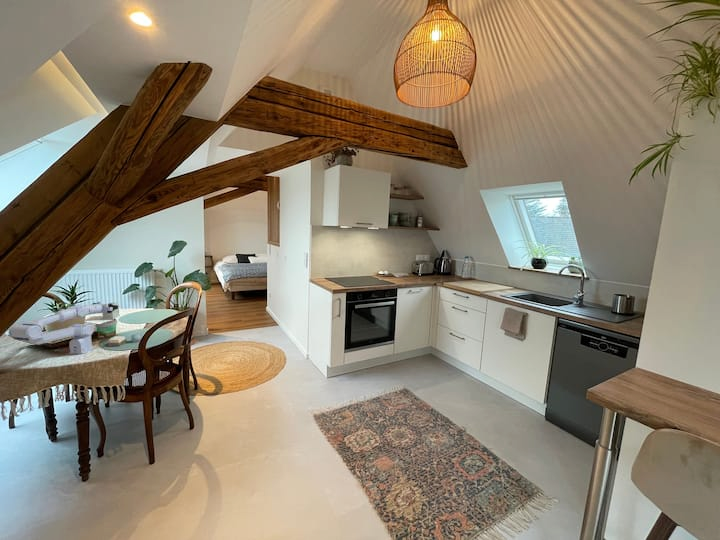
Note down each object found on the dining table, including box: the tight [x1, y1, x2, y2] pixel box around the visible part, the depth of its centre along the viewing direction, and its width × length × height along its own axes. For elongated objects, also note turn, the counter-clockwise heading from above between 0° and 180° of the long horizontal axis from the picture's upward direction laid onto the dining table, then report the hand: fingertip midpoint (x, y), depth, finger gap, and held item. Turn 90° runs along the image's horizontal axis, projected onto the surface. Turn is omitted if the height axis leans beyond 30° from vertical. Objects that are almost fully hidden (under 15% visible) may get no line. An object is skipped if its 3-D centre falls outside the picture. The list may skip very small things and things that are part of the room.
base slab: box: [107, 338, 127, 347], centre depth 182 cm, size 6×6×2 cm
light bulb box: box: [101, 302, 121, 321], centre depth 226 cm, size 11×7×11 cm, turn 17°
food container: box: [94, 318, 118, 340], centre depth 192 cm, size 12×6×10 cm, turn 168°
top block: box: [108, 335, 126, 343], centre depth 181 cm, size 6×6×2 cm
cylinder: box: [130, 333, 141, 344], centre depth 187 cm, size 4×4×4 cm
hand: (111, 306), depth 189 cm, fingers open, 7 cm apart
